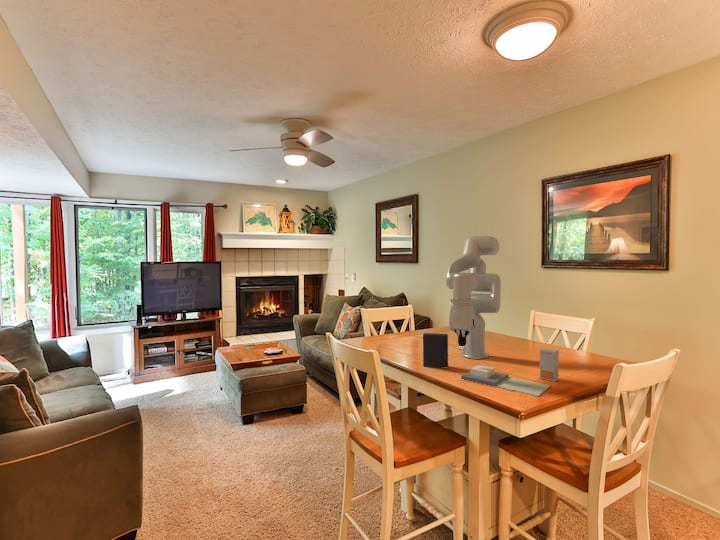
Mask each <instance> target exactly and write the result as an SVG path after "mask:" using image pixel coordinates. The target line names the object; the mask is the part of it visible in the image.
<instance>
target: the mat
mask: <svg viewBox="0 0 720 540" xmlns="http://www.w3.org/2000/svg"><path fill="white" fill-rule="evenodd" d="M497 387H499V388H498V389H502V388H503V389H502V390H506V389H509V390H508V391H511V390H513V391H512V392H516V391H518V392H517V393H520V392H522V393H521V394H525V393H526V394H525V395H529V394H530V396H534V395H535V397H540V396H541V395H542V394H543V393H544V392H546V391H547V390H548V389H549V388H550V387H551V385H549V384H545V383H540V382H536V381H530V380H525V379H519V378H514V377H510V376H509V377H508V378H506V379H505V380H503V381H502V382H500V383H498V384H497V385H495V387H494V388H497Z"/></svg>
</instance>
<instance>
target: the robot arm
mask: <svg viewBox="0 0 720 540" xmlns="http://www.w3.org/2000/svg"><path fill="white" fill-rule="evenodd" d="M498 240H499V239H497V238H496V237H495V236H492V235H477V236H476V235H474V236H470V237H467V238H466V239H465V241H464V243H463V248H462V252H461V256H460V257H458V258H457V259H455V260H454V261H453V262H452V263H451V264H450V265H449V267H448V269H447V273H446V276H445V286H446V287H447V288H448V289H450V290H452V291H453V292H452V294H453V295H452V297H453V298H451V299H450V303H452V305H450V309H449V316H448V317H449V319H448V326H449V329H450V331H452V332H454V333H455V334H456V336H457V343H458V351H462V353H461V355H462V357H464V358H467V359H472V360H483V359H484V360H485V359H487V358H488V357H489V353H487V352H486V321H485V319H484V317H483V316H482V315H481V314H497V313H499V312H500V308H501V294H502V293H501V292H502V291H501V290H502V280H501V277H500V276H499V274H497V273H493V272H492V273H487V265H486V263H485V261H484V260H483V258H481V256H495V255H497V254H498V253H499V251H500V243H499V242H500V241H498ZM467 270H468V272H465V271H467Z"/></svg>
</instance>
